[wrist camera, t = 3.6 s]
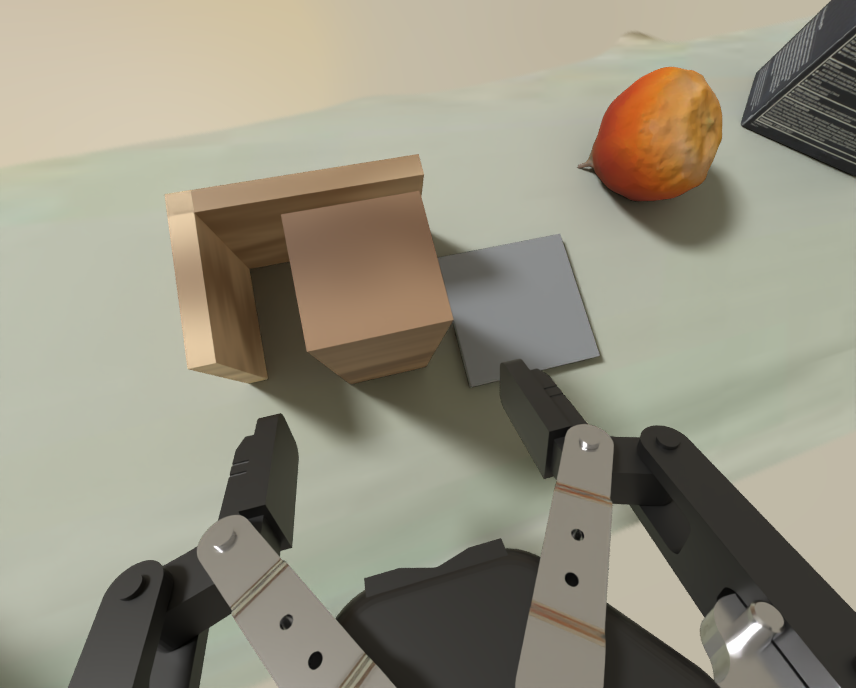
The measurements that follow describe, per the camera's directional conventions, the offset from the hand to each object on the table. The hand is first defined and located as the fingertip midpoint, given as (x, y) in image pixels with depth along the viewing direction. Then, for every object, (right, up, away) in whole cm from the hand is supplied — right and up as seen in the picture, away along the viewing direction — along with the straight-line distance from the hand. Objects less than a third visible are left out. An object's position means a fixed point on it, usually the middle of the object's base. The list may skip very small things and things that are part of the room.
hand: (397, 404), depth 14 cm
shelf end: (-5, +5, +11) cm, 13 cm away
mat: (+7, +5, +12) cm, 15 cm away
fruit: (+16, +15, +15) cm, 27 cm away
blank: (-2, +3, +11) cm, 11 cm away
